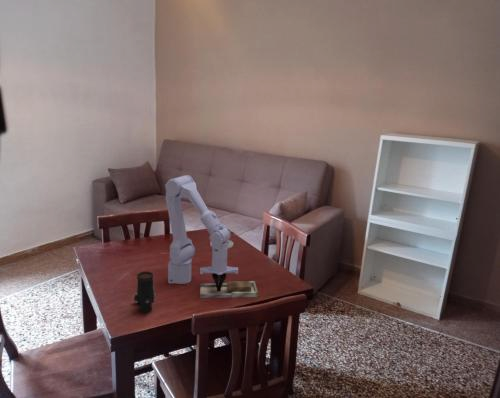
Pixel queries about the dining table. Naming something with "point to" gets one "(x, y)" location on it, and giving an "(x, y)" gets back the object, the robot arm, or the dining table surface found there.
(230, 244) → the monster figurine
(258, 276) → the dining table surface
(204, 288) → the slot board
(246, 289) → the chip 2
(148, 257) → the dining table surface
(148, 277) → the scope
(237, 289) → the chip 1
